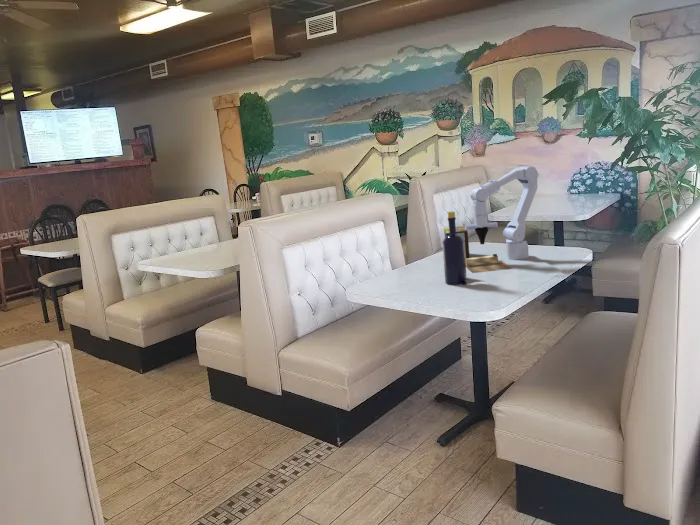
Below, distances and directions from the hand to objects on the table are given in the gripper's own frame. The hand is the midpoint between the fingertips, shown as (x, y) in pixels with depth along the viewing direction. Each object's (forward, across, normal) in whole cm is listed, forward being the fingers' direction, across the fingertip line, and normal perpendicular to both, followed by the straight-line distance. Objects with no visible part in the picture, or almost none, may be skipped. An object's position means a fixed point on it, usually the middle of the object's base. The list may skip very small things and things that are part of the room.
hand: (482, 243), depth 258 cm
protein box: (+11, +8, -19) cm, 23 cm away
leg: (+9, +1, +2) cm, 9 cm away
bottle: (+11, +18, +24) cm, 32 cm away
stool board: (+10, 0, +7) cm, 13 cm away
